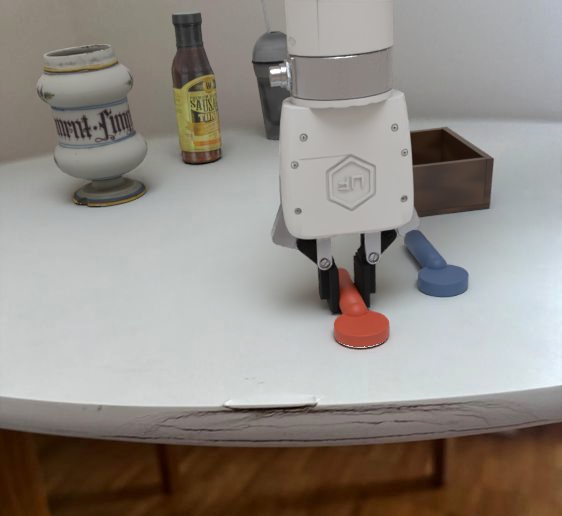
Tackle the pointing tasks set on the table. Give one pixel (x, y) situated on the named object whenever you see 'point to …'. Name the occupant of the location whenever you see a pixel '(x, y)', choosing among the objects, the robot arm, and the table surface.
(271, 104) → the beverage cup
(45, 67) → the apothecary jar
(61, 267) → the table surface
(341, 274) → the red spoon
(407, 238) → the blue spoon
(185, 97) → the sauce bottle
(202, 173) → the table surface
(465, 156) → the bin
